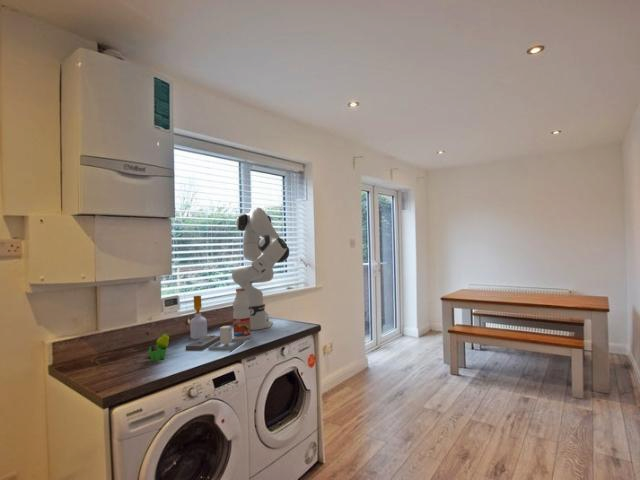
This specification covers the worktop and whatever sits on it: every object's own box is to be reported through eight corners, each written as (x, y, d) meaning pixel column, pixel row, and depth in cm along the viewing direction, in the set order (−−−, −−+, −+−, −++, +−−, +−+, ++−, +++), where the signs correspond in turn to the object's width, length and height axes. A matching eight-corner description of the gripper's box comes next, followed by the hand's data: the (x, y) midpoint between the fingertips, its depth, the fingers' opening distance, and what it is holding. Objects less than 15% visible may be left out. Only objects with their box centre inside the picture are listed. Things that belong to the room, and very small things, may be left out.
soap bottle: (190, 341, 204) (188, 297, 204) (191, 337, 213) (189, 295, 213) (207, 339, 207) (205, 295, 207) (207, 335, 216) (205, 293, 216)
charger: (224, 345, 190) (223, 325, 190) (232, 345, 189) (231, 325, 189) (220, 347, 186) (219, 327, 186) (228, 347, 185) (227, 327, 185)
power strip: (205, 341, 203) (205, 334, 203) (221, 341, 201) (220, 334, 201) (185, 352, 183) (185, 344, 183) (202, 352, 181) (202, 344, 181)
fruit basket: (150, 356, 178) (149, 333, 178) (170, 353, 181) (169, 330, 182) (148, 363, 168) (147, 338, 168) (169, 360, 171) (168, 335, 171)
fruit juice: (254, 337, 207) (251, 287, 207) (246, 341, 198) (243, 289, 198) (239, 336, 210) (237, 287, 210) (230, 340, 201) (228, 289, 201)
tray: (222, 343, 196) (222, 338, 196) (243, 343, 194) (243, 338, 194) (208, 352, 181) (208, 347, 181) (230, 352, 178) (230, 347, 178)
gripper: (265, 259, 200) (249, 278, 202) (251, 262, 180) (234, 282, 182) (273, 267, 199) (257, 286, 201) (260, 270, 179) (242, 291, 181)
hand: (246, 284), depth 191 cm, fingers open, 8 cm apart
